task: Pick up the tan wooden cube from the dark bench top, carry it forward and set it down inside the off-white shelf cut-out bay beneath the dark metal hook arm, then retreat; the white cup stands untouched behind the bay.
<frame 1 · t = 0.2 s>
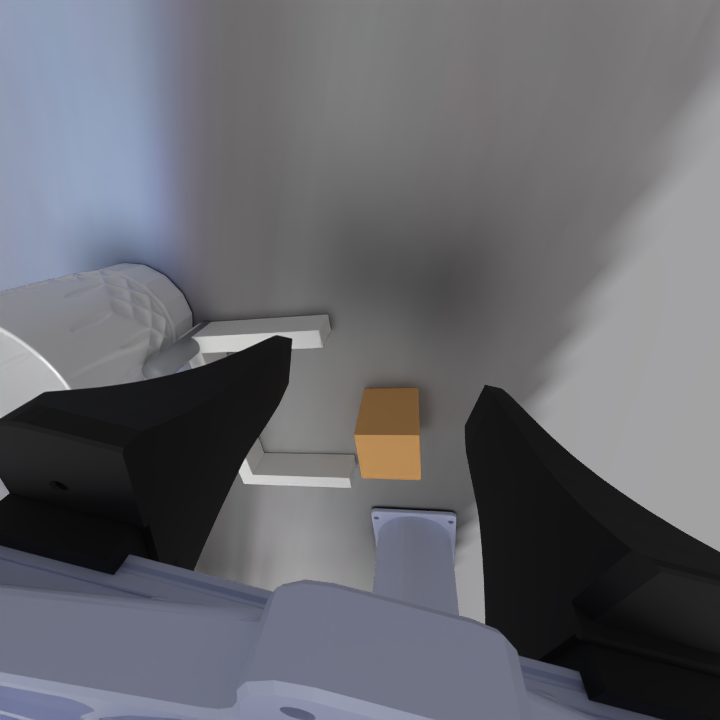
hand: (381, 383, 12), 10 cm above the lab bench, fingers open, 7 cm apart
white cup: (152, 307, 23), on the lab bench
tan wooden cube: (392, 408, 25), on the lab bench
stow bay: (292, 400, 26), on the lab bench
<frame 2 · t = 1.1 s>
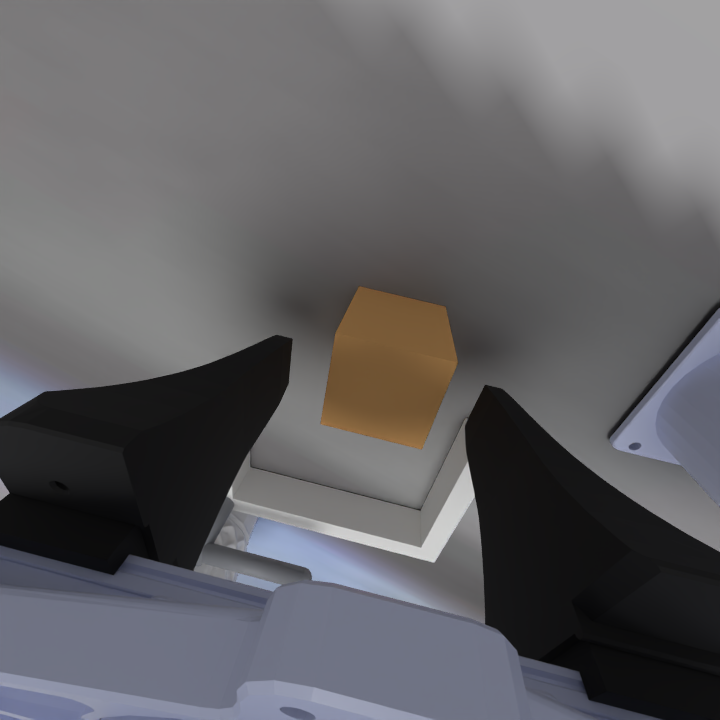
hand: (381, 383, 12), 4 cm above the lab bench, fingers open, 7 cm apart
white cup: (220, 496, 25), on the lab bench
tan wooden cube: (391, 334, 15), on the lab bench
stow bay: (344, 445, 20), on the lab bench
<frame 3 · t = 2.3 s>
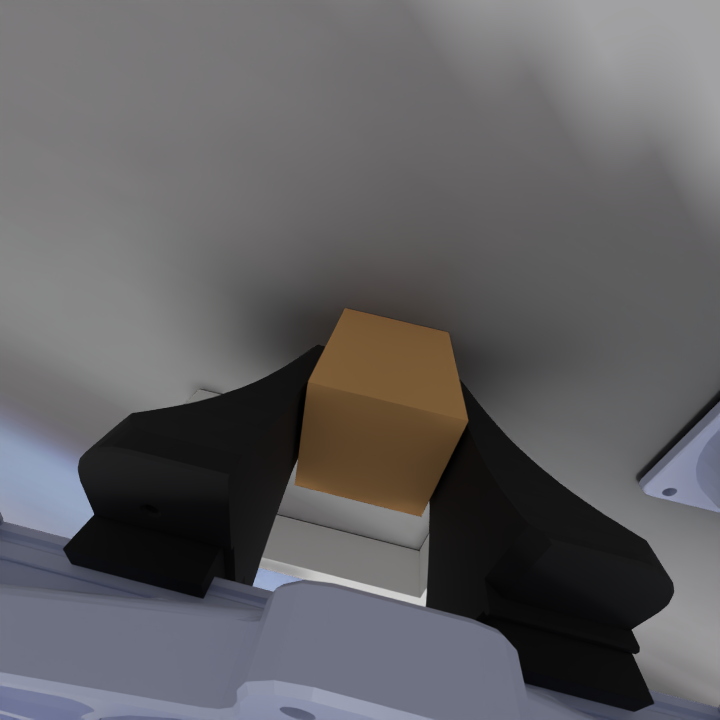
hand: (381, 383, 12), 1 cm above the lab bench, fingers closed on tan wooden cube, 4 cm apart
tan wooden cube: (384, 364, 13), on the lab bench, touching gripper
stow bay: (333, 482, 17), on the lab bench
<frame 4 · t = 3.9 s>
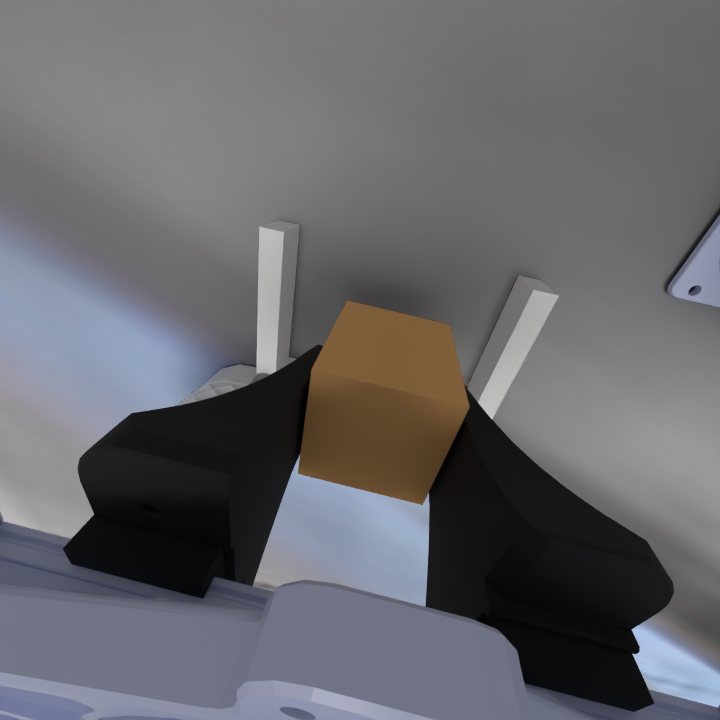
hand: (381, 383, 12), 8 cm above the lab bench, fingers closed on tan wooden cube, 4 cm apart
white cup: (254, 399, 24), on the lab bench
tan wooden cube: (386, 356, 13), point 6 cm above the lab bench, touching gripper
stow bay: (389, 320, 19), on the lab bench
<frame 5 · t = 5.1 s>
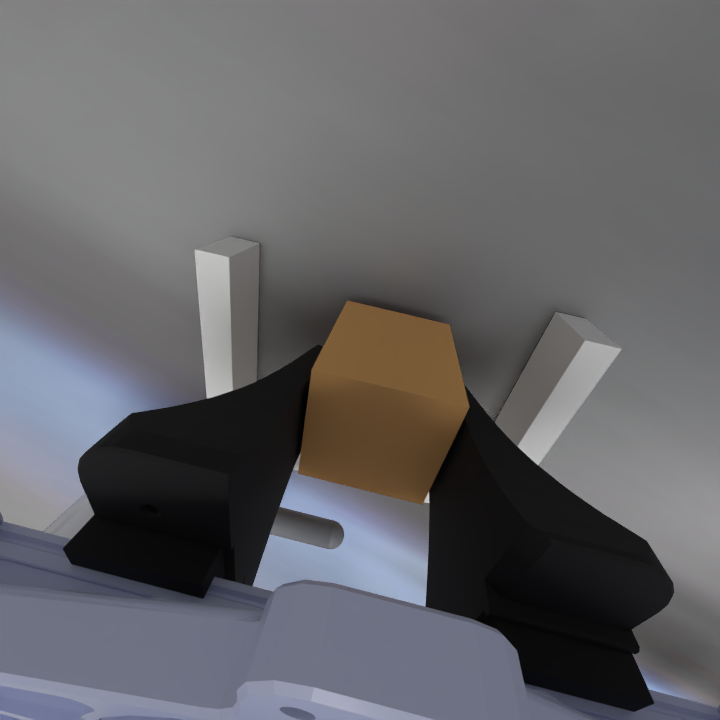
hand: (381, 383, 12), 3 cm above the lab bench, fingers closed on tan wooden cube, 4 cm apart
white cup: (218, 450, 20), on the lab bench
tan wooden cube: (386, 356, 13), point 1 cm above the lab bench, touching gripper
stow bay: (382, 365, 15), on the lab bench
when the fingers open (3 cm above the lab bench, at t = 5.6 s): tan wooden cube drops 1 cm, on the lab bench.
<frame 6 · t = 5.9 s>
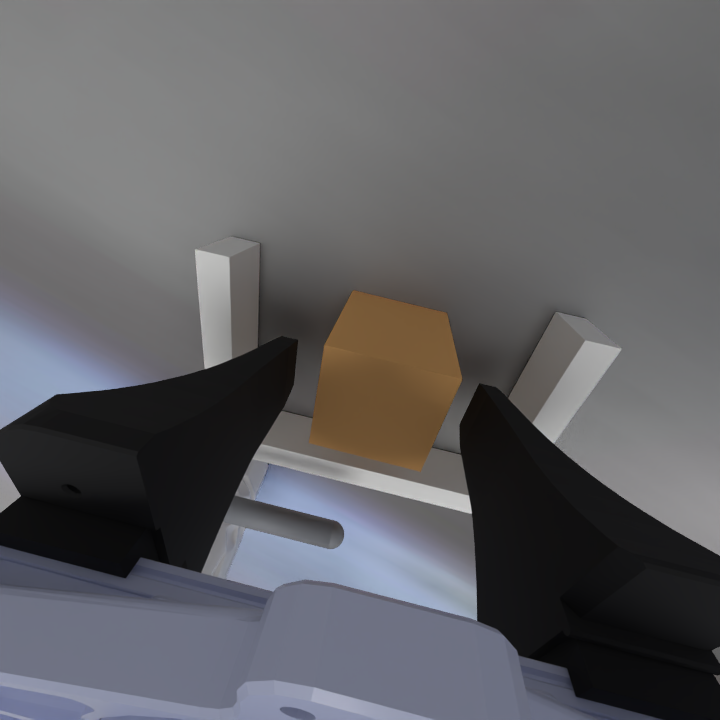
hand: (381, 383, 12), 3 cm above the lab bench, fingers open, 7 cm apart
white cup: (218, 450, 20), on the lab bench
tan wooden cube: (388, 342, 14), on the lab bench
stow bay: (382, 365, 15), on the lab bench
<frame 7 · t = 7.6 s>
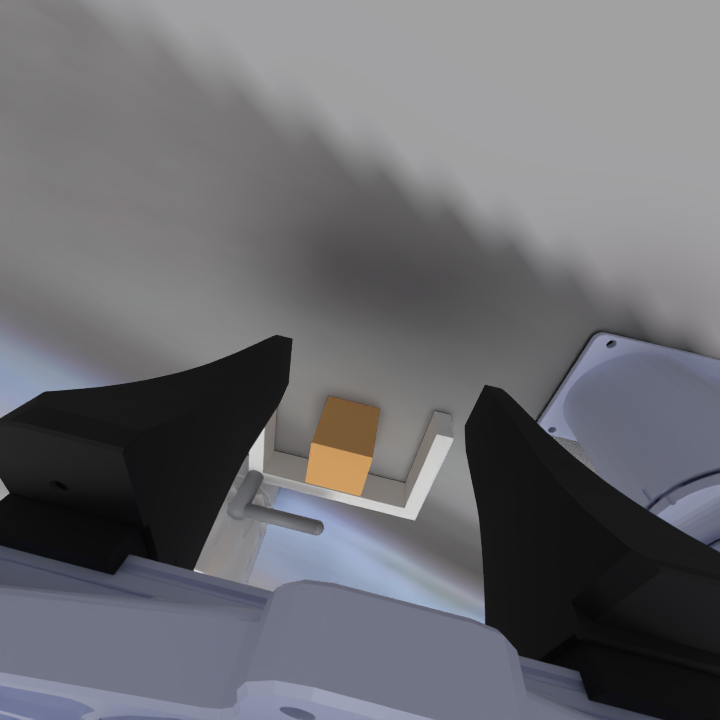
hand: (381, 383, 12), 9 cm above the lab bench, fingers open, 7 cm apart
white cup: (248, 475, 31), on the lab bench
tan wooden cube: (349, 421, 26), on the lab bench
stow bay: (347, 432, 26), on the lab bench
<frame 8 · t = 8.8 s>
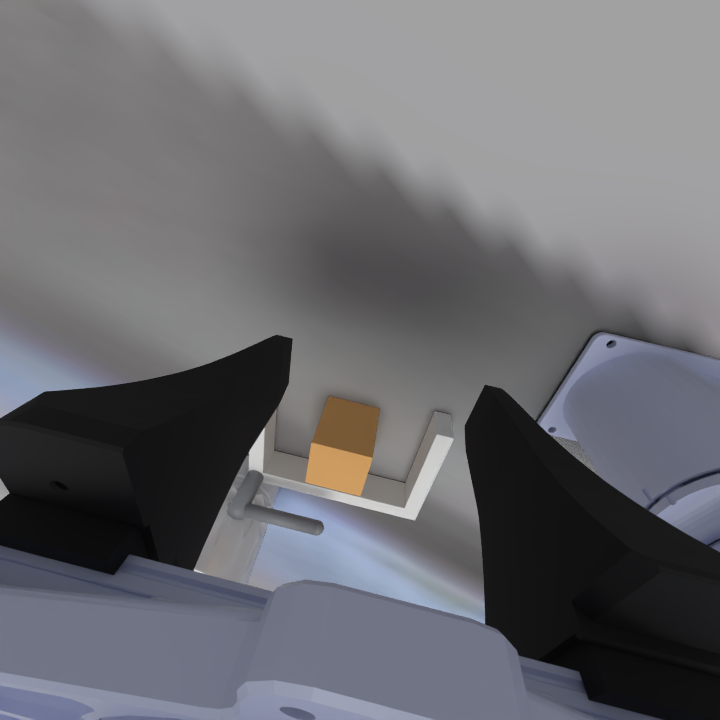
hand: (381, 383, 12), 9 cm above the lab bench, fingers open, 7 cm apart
white cup: (248, 475, 31), on the lab bench
tan wooden cube: (349, 421, 26), on the lab bench
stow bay: (347, 432, 26), on the lab bench
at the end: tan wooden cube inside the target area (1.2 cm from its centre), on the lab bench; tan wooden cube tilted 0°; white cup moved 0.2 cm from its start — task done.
